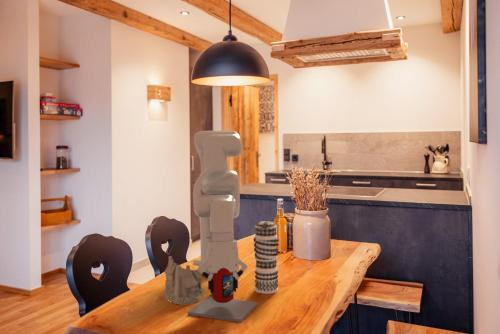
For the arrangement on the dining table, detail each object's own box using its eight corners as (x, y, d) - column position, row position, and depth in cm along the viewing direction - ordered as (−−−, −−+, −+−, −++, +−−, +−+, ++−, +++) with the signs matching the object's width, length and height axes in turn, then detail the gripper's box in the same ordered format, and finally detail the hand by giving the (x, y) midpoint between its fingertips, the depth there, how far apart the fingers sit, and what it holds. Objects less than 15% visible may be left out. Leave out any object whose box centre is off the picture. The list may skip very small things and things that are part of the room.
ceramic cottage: (176, 307, 147) (177, 261, 147) (156, 295, 160) (157, 253, 160) (217, 300, 156) (218, 257, 156) (195, 289, 169) (196, 250, 169)
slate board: (187, 315, 140) (187, 311, 140) (208, 299, 154) (208, 296, 154) (240, 322, 134) (240, 319, 134) (257, 305, 148) (257, 302, 148)
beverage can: (230, 304, 140) (230, 267, 139) (210, 303, 141) (209, 266, 141) (235, 297, 147) (235, 261, 146) (216, 296, 148) (215, 260, 147)
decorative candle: (261, 295, 157) (261, 225, 156) (249, 288, 165) (248, 221, 164) (283, 291, 161) (283, 223, 160) (270, 284, 169) (270, 219, 168)
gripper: (195, 240, 138) (196, 296, 139) (250, 237, 140) (251, 293, 141) (194, 235, 146) (195, 288, 147) (247, 233, 148) (248, 285, 149)
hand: (223, 290), depth 144 cm, fingers closed on beverage can, 6 cm apart
